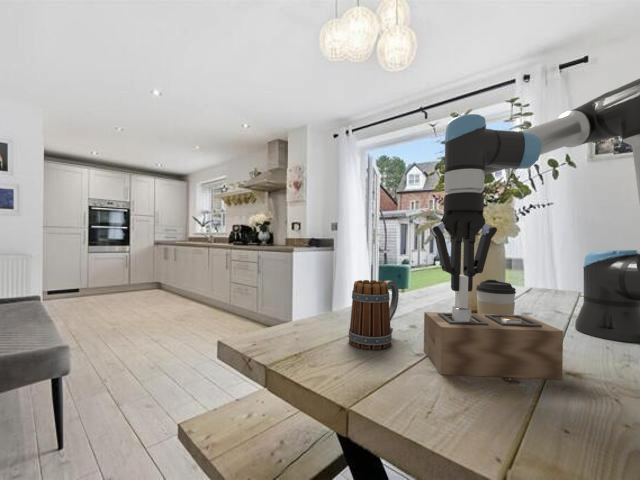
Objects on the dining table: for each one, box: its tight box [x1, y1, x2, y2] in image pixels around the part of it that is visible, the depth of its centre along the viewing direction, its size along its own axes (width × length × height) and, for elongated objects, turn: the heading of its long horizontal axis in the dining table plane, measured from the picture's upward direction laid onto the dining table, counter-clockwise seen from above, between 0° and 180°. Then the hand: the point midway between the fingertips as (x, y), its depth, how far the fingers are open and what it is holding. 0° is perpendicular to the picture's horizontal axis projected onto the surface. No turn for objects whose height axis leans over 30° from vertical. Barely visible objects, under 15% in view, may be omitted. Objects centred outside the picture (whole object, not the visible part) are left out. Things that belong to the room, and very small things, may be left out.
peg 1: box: [451, 305, 472, 322], centre depth 64 cm, size 4×4×8 cm
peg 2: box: [501, 317, 522, 323], centre depth 63 cm, size 4×4×8 cm
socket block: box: [423, 311, 564, 380], centre depth 64 cm, size 22×12×9 cm, turn 86°
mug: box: [348, 279, 400, 351], centre depth 77 cm, size 16×11×15 cm
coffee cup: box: [475, 279, 517, 315], centre depth 80 cm, size 9×9×15 cm
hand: (461, 306), depth 64 cm, fingers closed
